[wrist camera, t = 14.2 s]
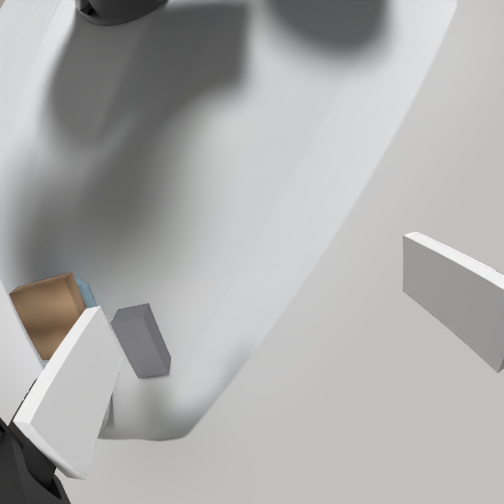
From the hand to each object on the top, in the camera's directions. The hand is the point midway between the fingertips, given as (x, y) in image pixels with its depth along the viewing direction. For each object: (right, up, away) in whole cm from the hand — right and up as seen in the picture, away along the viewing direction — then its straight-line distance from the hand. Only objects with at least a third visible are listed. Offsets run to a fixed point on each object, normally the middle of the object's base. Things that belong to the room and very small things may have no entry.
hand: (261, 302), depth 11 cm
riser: (-16, -11, +30) cm, 35 cm away
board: (-27, -7, +22) cm, 36 cm away
